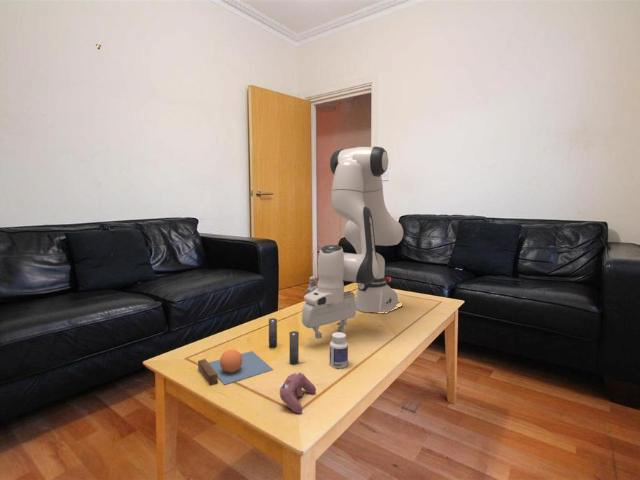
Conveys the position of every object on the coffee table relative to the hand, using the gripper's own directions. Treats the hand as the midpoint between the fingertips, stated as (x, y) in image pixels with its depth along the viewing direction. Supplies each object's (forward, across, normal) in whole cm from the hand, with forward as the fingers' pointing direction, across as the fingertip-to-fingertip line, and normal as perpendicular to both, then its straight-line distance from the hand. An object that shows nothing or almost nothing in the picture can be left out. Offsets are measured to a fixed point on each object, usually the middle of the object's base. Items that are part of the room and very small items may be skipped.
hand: (329, 334), depth 115 cm
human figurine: (+2, -5, -18) cm, 19 cm away
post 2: (+2, +18, +7) cm, 19 cm away
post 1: (+2, +18, -6) cm, 19 cm away
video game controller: (+2, +27, +23) cm, 36 cm away
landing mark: (+2, +32, 0) cm, 32 cm away
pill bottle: (+2, +8, +15) cm, 17 cm away
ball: (-1, +35, +1) cm, 35 cm away
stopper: (+2, +41, 0) cm, 41 cm away
